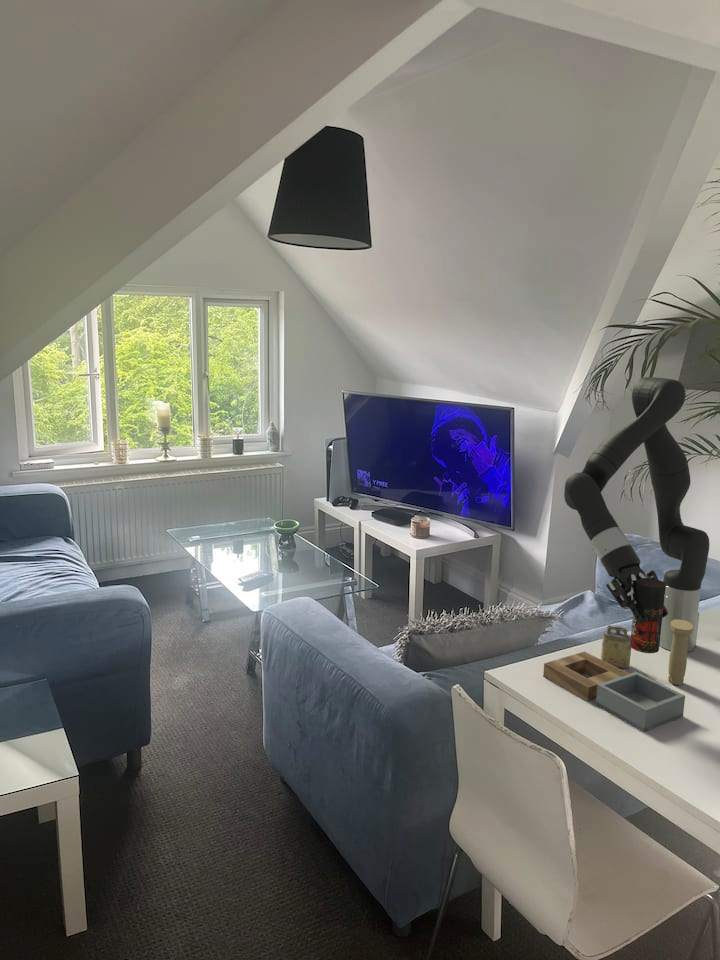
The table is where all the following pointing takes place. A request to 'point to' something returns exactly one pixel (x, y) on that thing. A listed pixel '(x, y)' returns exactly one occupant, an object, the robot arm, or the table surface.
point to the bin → (640, 701)
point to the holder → (572, 666)
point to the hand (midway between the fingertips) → (654, 618)
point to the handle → (679, 650)
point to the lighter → (616, 647)
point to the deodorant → (648, 615)
